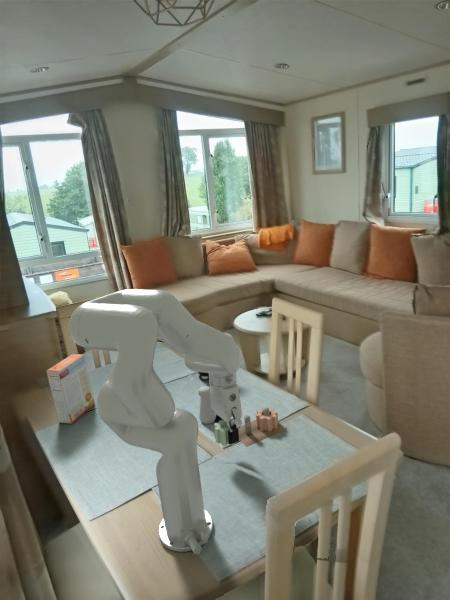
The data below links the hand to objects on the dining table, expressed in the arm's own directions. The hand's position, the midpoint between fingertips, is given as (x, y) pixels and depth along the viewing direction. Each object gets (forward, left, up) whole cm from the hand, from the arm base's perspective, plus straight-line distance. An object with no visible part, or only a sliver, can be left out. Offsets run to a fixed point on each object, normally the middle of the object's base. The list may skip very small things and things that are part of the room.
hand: (227, 435), depth 117 cm
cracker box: (+57, +32, -8) cm, 66 cm away
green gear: (0, 0, -1) cm, 1 cm away
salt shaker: (+21, -4, -8) cm, 23 cm away
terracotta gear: (+6, -18, -7) cm, 20 cm away
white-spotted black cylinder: (+51, -20, -8) cm, 55 cm away
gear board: (+6, -14, -8) cm, 17 cm away
